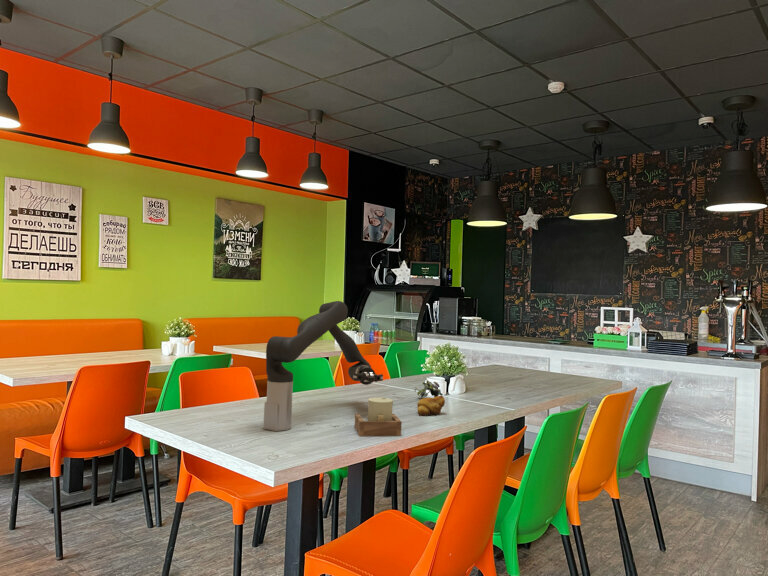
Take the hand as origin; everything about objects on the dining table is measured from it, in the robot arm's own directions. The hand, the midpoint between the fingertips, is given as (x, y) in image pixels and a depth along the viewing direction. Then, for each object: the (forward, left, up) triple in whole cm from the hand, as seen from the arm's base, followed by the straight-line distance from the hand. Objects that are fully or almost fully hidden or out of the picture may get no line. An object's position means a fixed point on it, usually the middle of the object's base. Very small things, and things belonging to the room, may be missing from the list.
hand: (371, 379), depth 218 cm
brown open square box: (-11, -10, -16) cm, 22 cm away
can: (-11, -11, -17) cm, 23 cm away
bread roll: (+29, -11, -17) cm, 35 cm away
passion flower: (+58, +3, -17) cm, 60 cm away
